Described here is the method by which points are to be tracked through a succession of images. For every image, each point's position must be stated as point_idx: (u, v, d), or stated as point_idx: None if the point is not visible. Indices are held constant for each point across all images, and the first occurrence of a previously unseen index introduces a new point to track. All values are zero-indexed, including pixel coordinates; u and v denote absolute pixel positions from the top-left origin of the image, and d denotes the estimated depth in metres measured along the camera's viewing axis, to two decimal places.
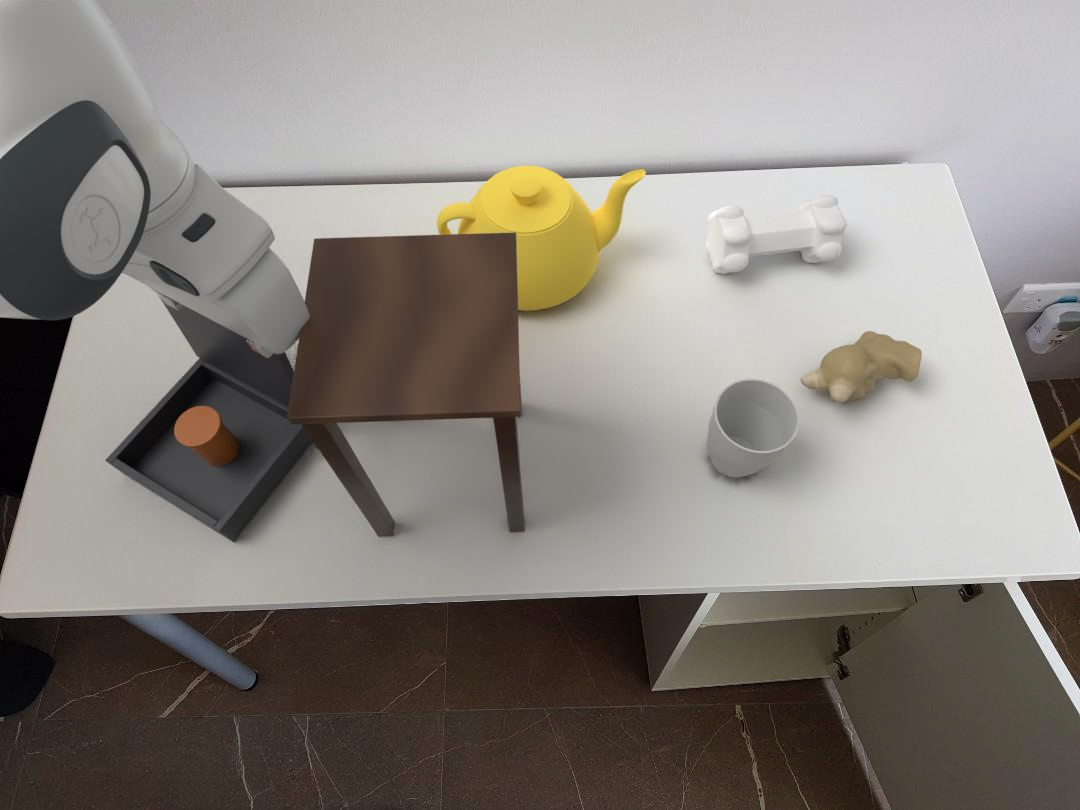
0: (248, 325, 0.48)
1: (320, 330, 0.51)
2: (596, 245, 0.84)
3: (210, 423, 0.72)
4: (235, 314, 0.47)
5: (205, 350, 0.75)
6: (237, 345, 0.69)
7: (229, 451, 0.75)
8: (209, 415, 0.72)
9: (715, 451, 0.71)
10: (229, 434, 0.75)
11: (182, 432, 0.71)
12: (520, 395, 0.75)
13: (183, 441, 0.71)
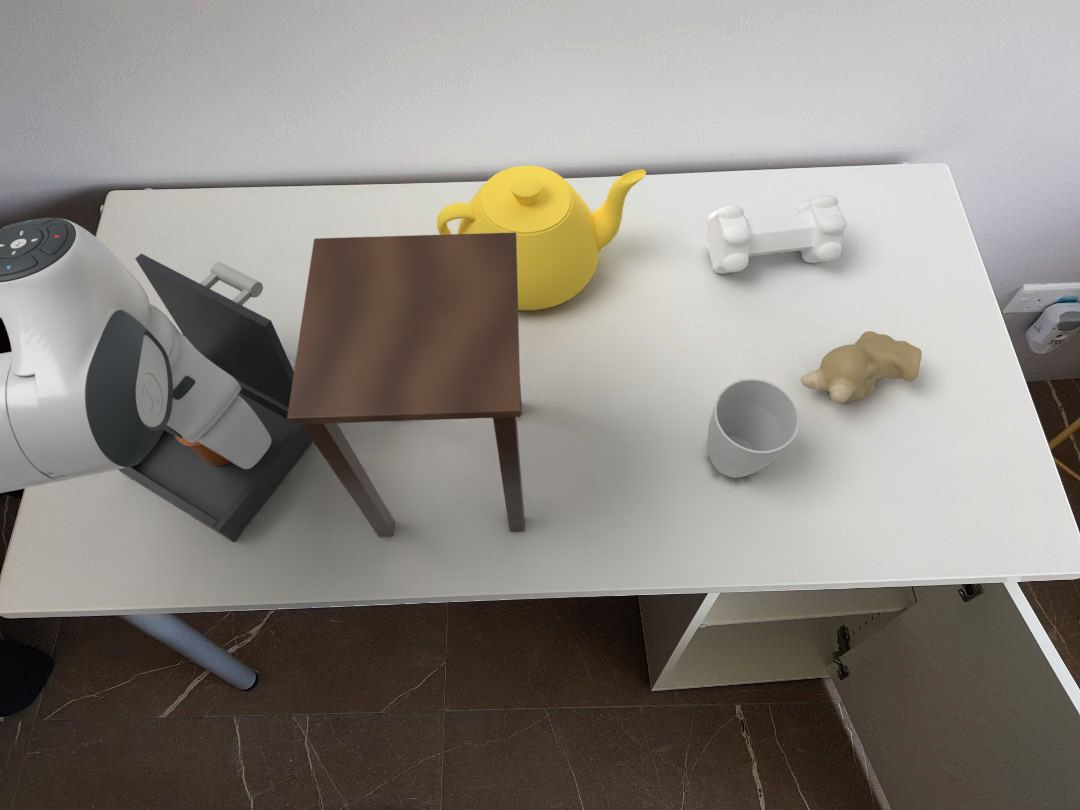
0: (221, 454, 0.62)
1: (320, 330, 0.51)
2: (596, 244, 0.84)
3: None
4: (210, 448, 0.61)
5: (205, 350, 0.75)
6: (237, 345, 0.69)
7: None
8: None
9: (715, 451, 0.71)
10: None
11: None
12: (520, 395, 0.75)
13: (183, 441, 0.71)
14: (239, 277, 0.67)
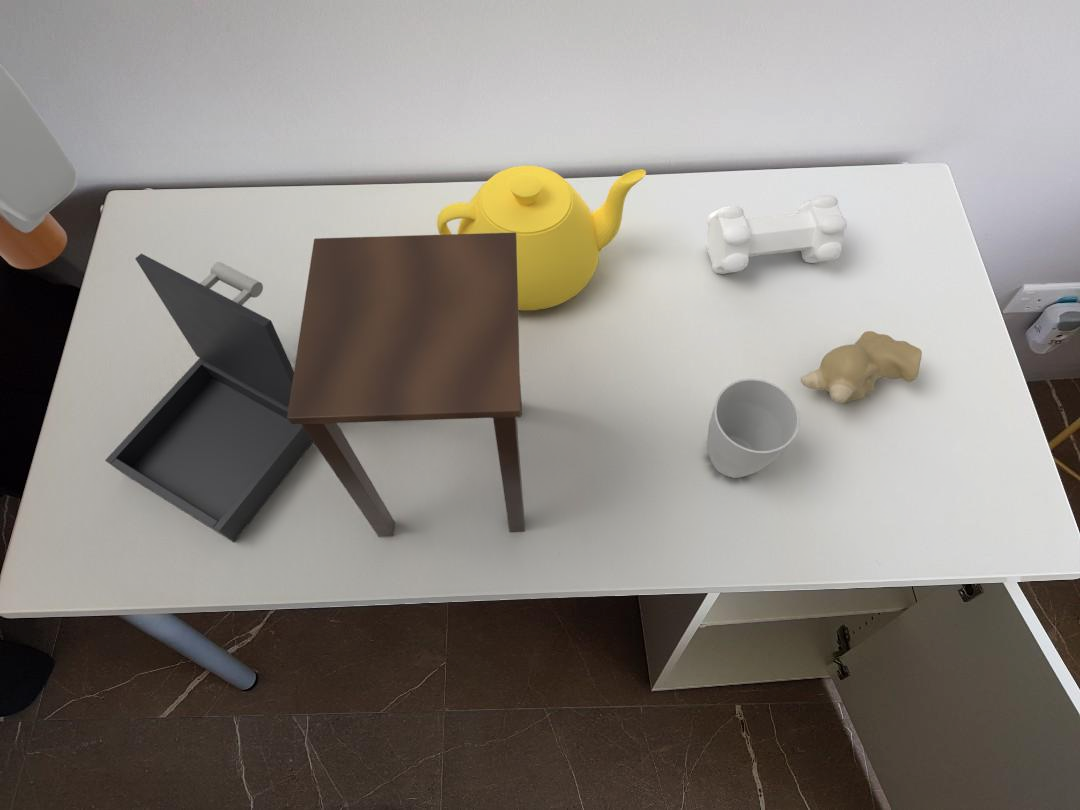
0: None
1: (320, 330, 0.51)
2: (596, 244, 0.84)
3: None
4: None
5: (205, 350, 0.75)
6: (237, 345, 0.69)
7: (43, 240, 0.46)
8: None
9: (715, 451, 0.71)
10: None
11: None
12: (520, 395, 0.75)
13: None
14: (239, 277, 0.67)
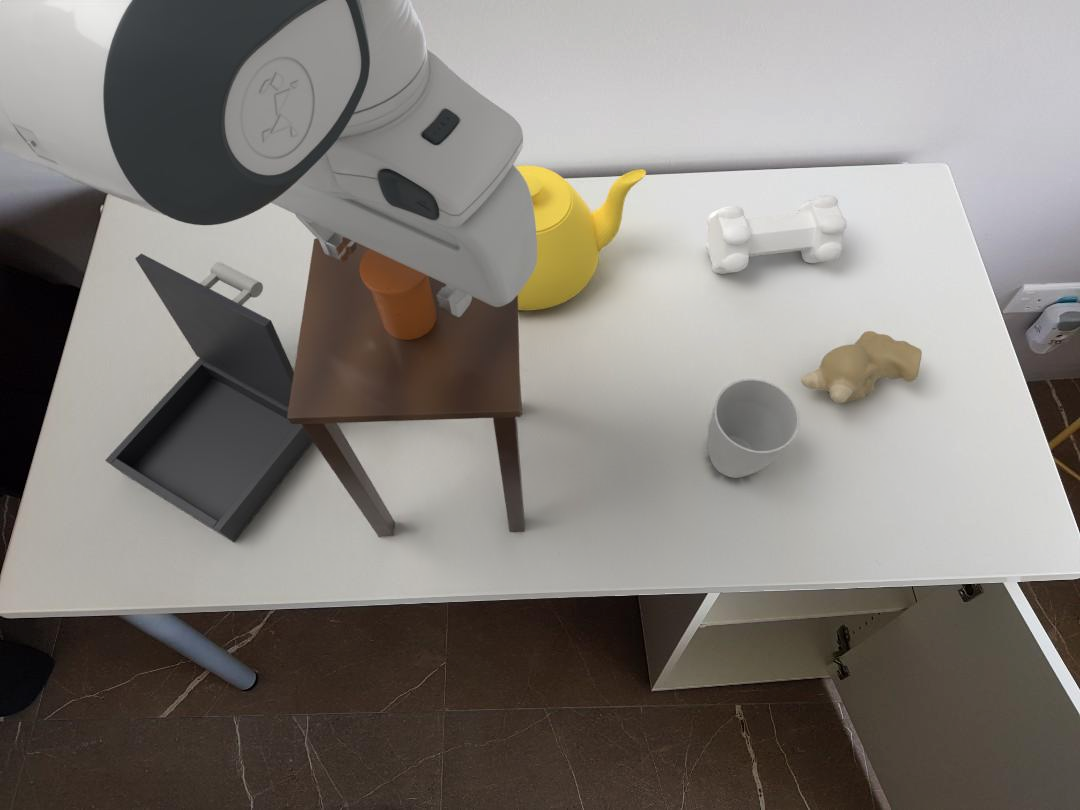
0: (484, 263, 0.36)
1: (320, 330, 0.51)
2: (596, 244, 0.84)
3: None
4: (473, 247, 0.35)
5: (205, 350, 0.75)
6: (237, 345, 0.69)
7: (429, 315, 0.50)
8: None
9: (715, 451, 0.71)
10: (430, 288, 0.50)
11: (373, 274, 0.46)
12: (520, 395, 0.75)
13: (376, 286, 0.46)
14: (239, 277, 0.67)
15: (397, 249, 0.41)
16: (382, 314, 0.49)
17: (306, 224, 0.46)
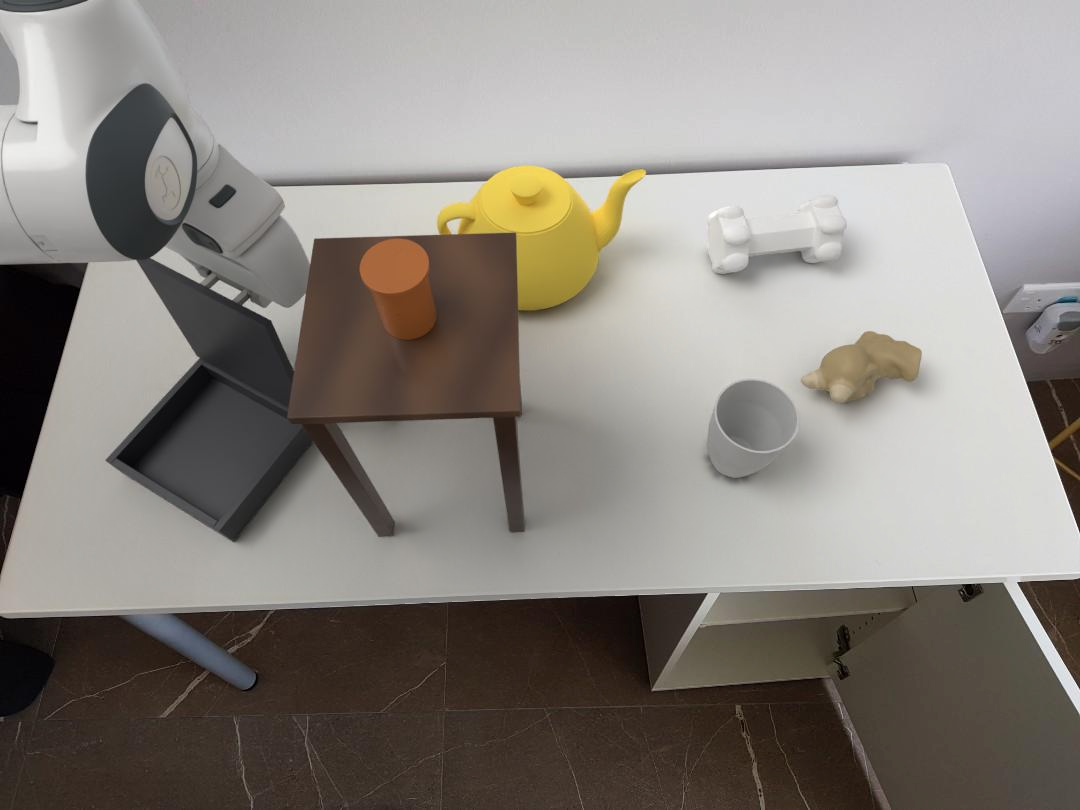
0: (262, 280, 0.57)
1: (320, 330, 0.51)
2: (596, 244, 0.84)
3: (414, 262, 0.47)
4: (252, 270, 0.56)
5: (205, 350, 0.75)
6: (237, 345, 0.69)
7: (429, 315, 0.50)
8: (410, 251, 0.47)
9: (715, 451, 0.71)
10: (430, 288, 0.50)
11: (373, 274, 0.46)
12: (520, 395, 0.75)
13: (376, 286, 0.46)
14: None
15: (221, 269, 0.61)
16: (382, 314, 0.49)
17: (183, 256, 0.66)
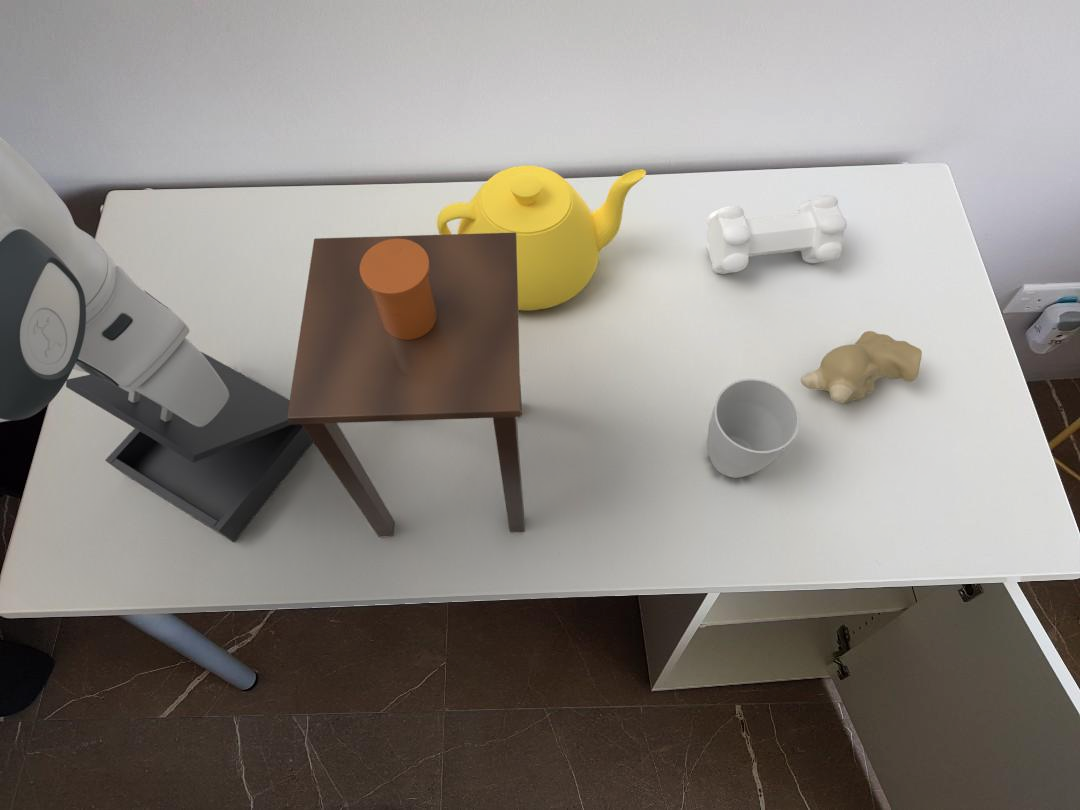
0: (167, 407, 0.54)
1: (320, 330, 0.51)
2: (596, 244, 0.84)
3: (414, 262, 0.47)
4: (154, 399, 0.53)
5: None
6: None
7: (429, 315, 0.50)
8: (410, 251, 0.47)
9: (715, 451, 0.71)
10: (430, 288, 0.50)
11: (373, 274, 0.46)
12: (520, 395, 0.75)
13: (376, 286, 0.46)
14: None
15: None
16: (382, 314, 0.49)
17: None
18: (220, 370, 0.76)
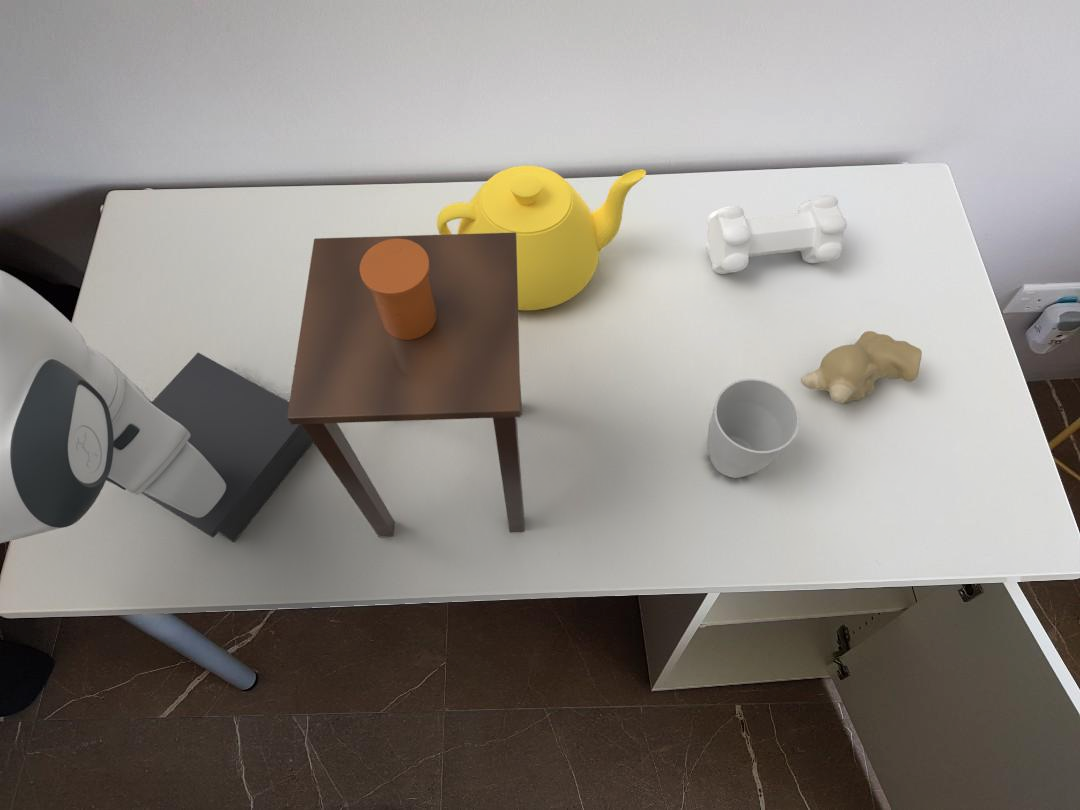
0: (169, 504, 0.59)
1: (320, 330, 0.51)
2: (596, 244, 0.84)
3: (414, 262, 0.47)
4: (157, 498, 0.58)
5: None
6: None
7: (429, 315, 0.50)
8: (410, 251, 0.47)
9: (715, 451, 0.71)
10: (430, 288, 0.50)
11: (373, 274, 0.46)
12: (520, 395, 0.75)
13: (376, 286, 0.46)
14: None
15: None
16: (382, 314, 0.49)
17: None
18: (220, 379, 0.77)
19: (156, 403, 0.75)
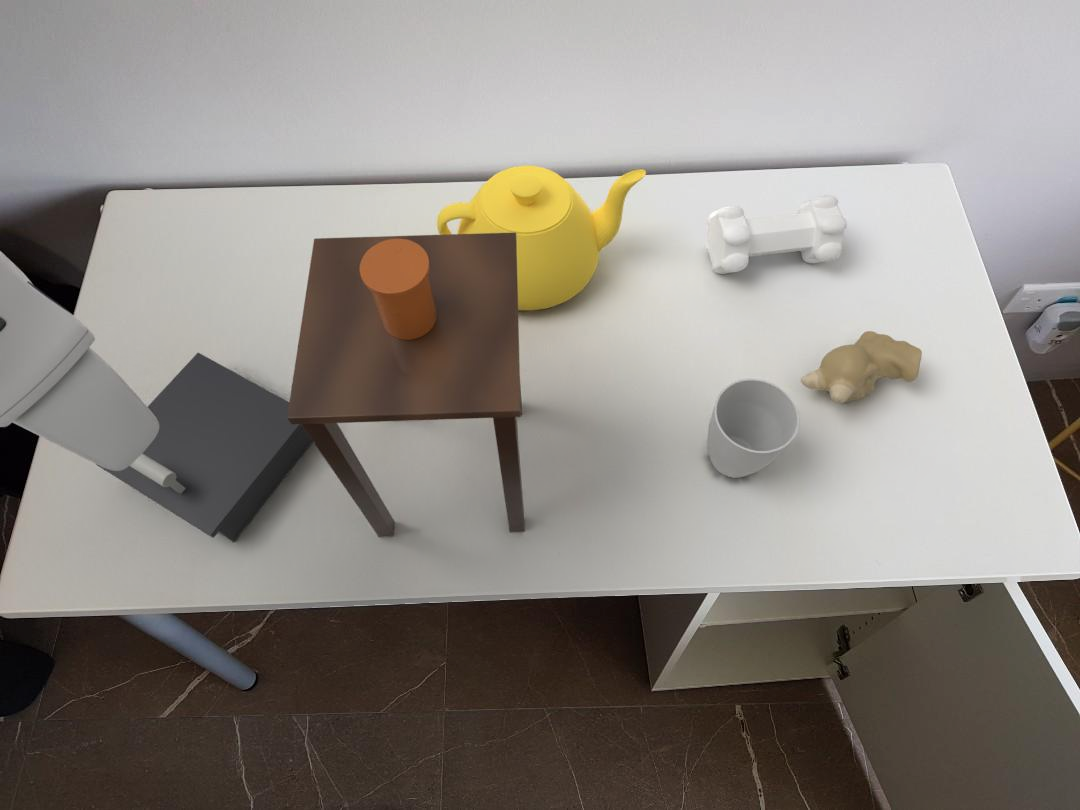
0: (63, 447, 0.38)
1: (320, 330, 0.51)
2: (596, 244, 0.84)
3: (414, 262, 0.47)
4: (42, 436, 0.37)
5: None
6: None
7: (429, 315, 0.50)
8: (410, 251, 0.47)
9: (715, 451, 0.71)
10: (430, 288, 0.50)
11: (373, 274, 0.46)
12: (520, 395, 0.75)
13: (376, 286, 0.46)
14: (150, 479, 0.68)
15: None
16: (382, 314, 0.49)
17: None
18: (220, 379, 0.77)
19: (156, 403, 0.75)
